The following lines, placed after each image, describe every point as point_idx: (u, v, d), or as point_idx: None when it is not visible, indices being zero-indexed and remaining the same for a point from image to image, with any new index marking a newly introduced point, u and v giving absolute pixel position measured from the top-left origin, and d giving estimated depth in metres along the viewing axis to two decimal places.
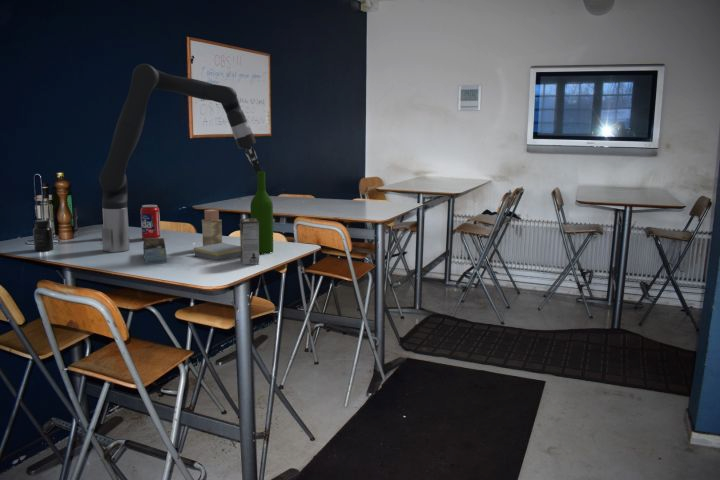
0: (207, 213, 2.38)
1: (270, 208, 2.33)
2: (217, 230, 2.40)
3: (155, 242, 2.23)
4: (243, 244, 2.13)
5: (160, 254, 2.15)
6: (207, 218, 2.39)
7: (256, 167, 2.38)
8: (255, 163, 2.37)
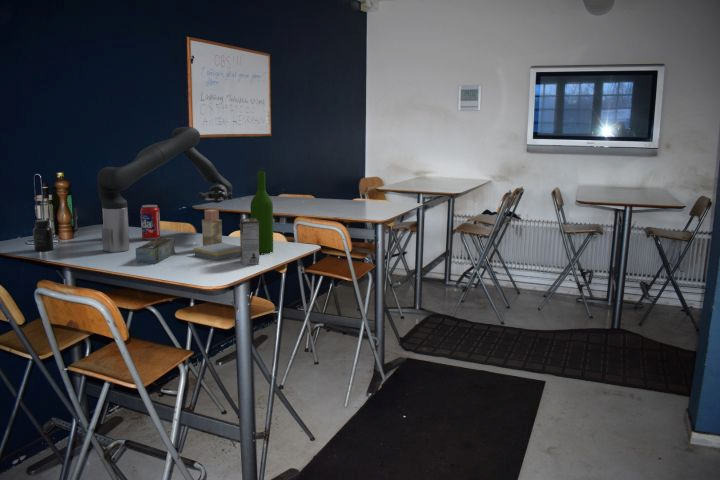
0: (207, 213, 2.38)
1: (270, 208, 2.33)
2: (217, 230, 2.40)
3: (157, 242, 2.23)
4: (243, 244, 2.13)
5: (150, 255, 2.13)
6: (207, 218, 2.39)
7: (227, 196, 2.53)
8: (228, 196, 2.55)
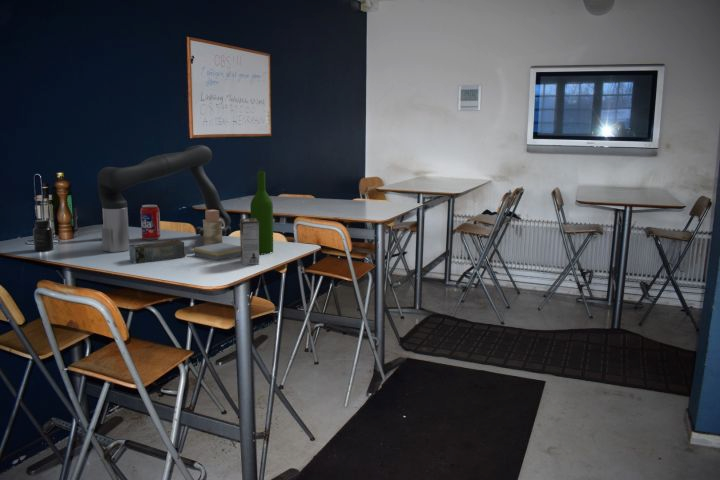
0: (207, 213, 2.38)
1: (270, 208, 2.33)
2: (217, 230, 2.39)
3: (160, 243, 2.22)
4: (243, 244, 2.13)
5: (133, 253, 2.15)
6: (207, 218, 2.39)
7: (225, 231, 2.44)
8: (227, 231, 2.45)
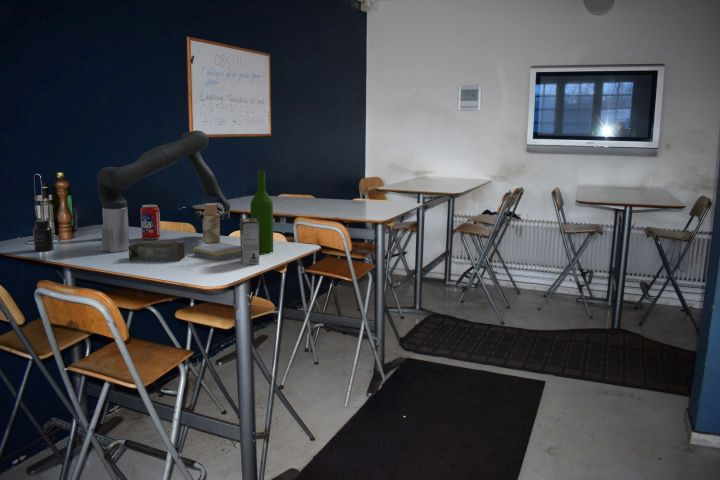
0: (205, 206, 2.37)
1: (270, 208, 2.33)
2: (214, 224, 2.38)
3: (159, 244, 2.21)
4: (243, 244, 2.13)
5: None
6: (205, 211, 2.38)
7: (223, 216, 2.41)
8: (225, 216, 2.43)
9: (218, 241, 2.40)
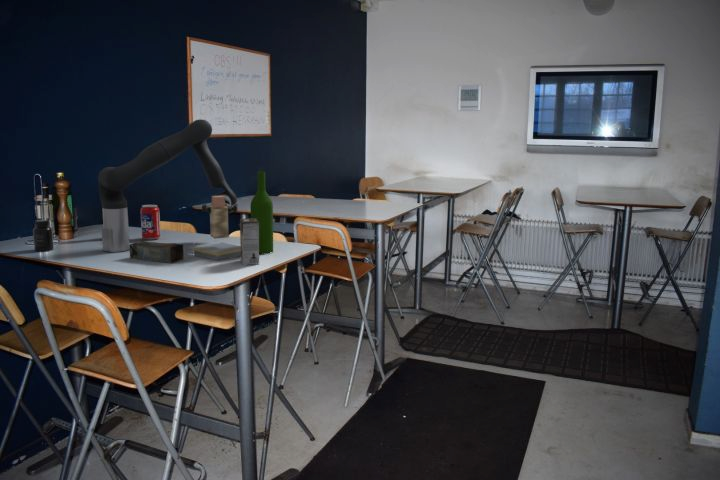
0: (213, 198, 2.26)
1: (270, 208, 2.33)
2: (223, 217, 2.27)
3: (158, 244, 2.20)
4: (243, 244, 2.13)
5: None
6: (213, 204, 2.27)
7: (231, 209, 2.30)
8: (233, 209, 2.32)
9: (226, 235, 2.29)
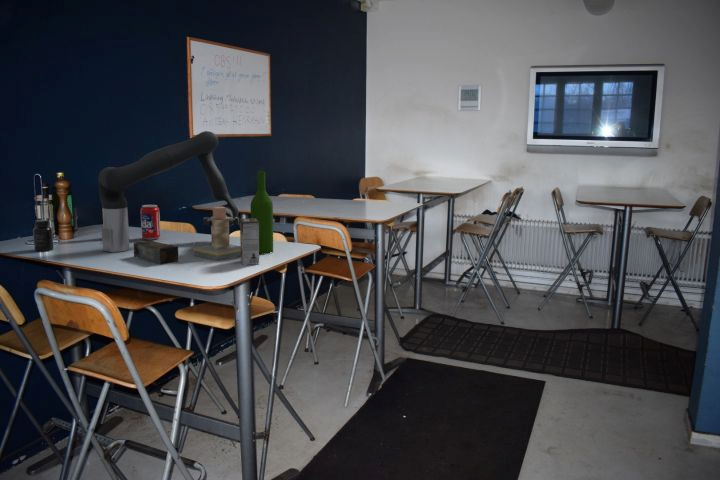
0: (214, 209, 2.26)
1: (270, 208, 2.33)
2: (224, 228, 2.26)
3: (156, 244, 2.19)
4: (243, 244, 2.13)
5: None
6: (214, 215, 2.27)
7: (232, 222, 2.30)
8: (234, 222, 2.31)
9: (227, 246, 2.28)
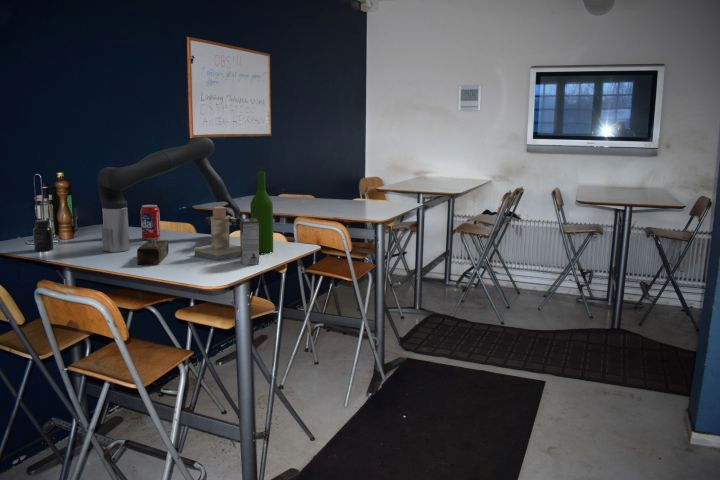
0: (214, 209, 2.26)
1: (270, 208, 2.33)
2: (224, 228, 2.26)
3: (151, 244, 2.19)
4: (243, 244, 2.13)
5: None
6: (214, 215, 2.27)
7: (235, 222, 2.41)
8: (237, 222, 2.43)
9: (227, 246, 2.28)
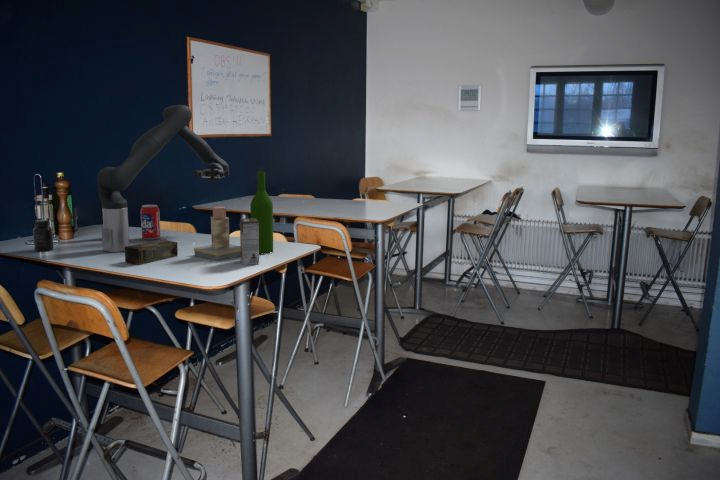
0: (214, 209, 2.26)
1: (270, 208, 2.33)
2: (224, 228, 2.26)
3: (148, 244, 2.20)
4: (243, 244, 2.13)
5: None
6: (214, 215, 2.27)
7: (223, 174, 2.46)
8: (225, 174, 2.48)
9: (227, 246, 2.28)
